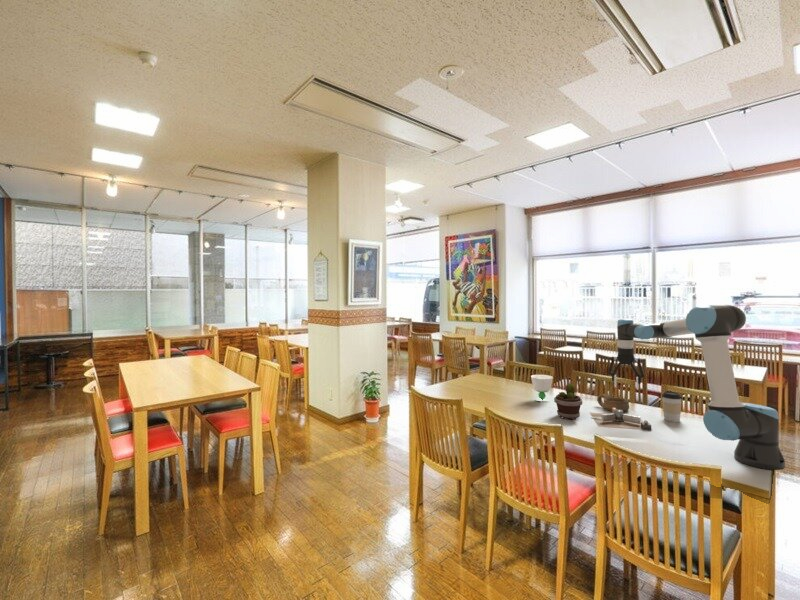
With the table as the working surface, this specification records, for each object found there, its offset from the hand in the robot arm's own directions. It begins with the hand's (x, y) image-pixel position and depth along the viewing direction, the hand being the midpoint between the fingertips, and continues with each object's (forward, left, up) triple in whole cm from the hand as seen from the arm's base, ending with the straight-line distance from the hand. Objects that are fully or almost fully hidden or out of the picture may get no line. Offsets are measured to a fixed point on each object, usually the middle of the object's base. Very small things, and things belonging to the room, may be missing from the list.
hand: (626, 388), depth 207 cm
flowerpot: (-1, +30, -18) cm, 35 cm away
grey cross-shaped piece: (-4, +6, -16) cm, 18 cm away
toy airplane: (-7, +6, -18) cm, 20 cm away
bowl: (+16, +4, -18) cm, 25 cm away
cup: (+31, +42, -18) cm, 55 cm away
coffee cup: (+6, -23, -18) cm, 30 cm away
